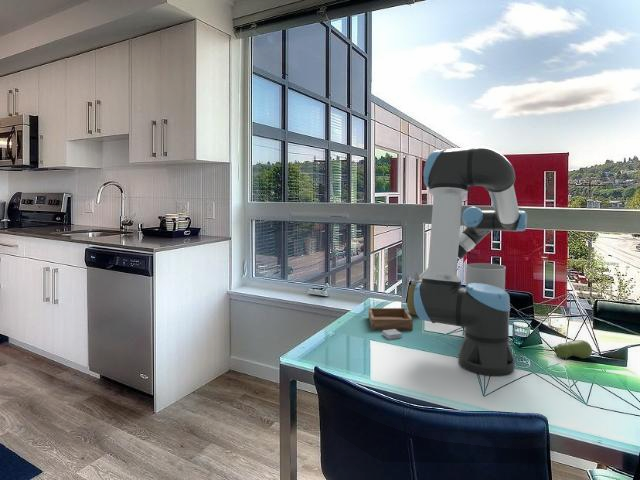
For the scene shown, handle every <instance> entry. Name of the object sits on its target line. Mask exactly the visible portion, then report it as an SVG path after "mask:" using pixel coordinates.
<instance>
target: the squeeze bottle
mask: <svg viewBox="0 0 640 480" xmlns="http://www.w3.org/2000/svg"><path fill="white" fill-rule="evenodd" d="M419 272H420V271H417V270H416V271H415V273H414V278H413V279H411V282H410V283H411V284H410V285H409V286H408V289H407V290H408V293H407V300H406V301H407V302H406V306H407V311H408V313H409V314H410V315H411V316H418V315H417V313H416V310H415V306H414V291H415V287H416V285H417V284H418V283H420V282H422V280H421V279H420V273H419Z"/></svg>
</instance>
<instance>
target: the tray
mask: <svg viewBox="0 0 640 480" xmlns="http://www.w3.org/2000/svg"><path fill="white" fill-rule="evenodd" d="M368 320H369V324H370V328H371V331H382V330H390V329H396V330H397V331H413V330H414V329H413V328H414V326H413V325H414V324H413V322H414V320H413V317H412V315H411V314H410V313H409V310H408V308H406V307H404V308H403V307H401V308H400V307H397V308H396V307H392V308H390V307H384V308H383V307H382V308H380V307H375V308H374V307H370V308H369V307H368Z"/></svg>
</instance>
